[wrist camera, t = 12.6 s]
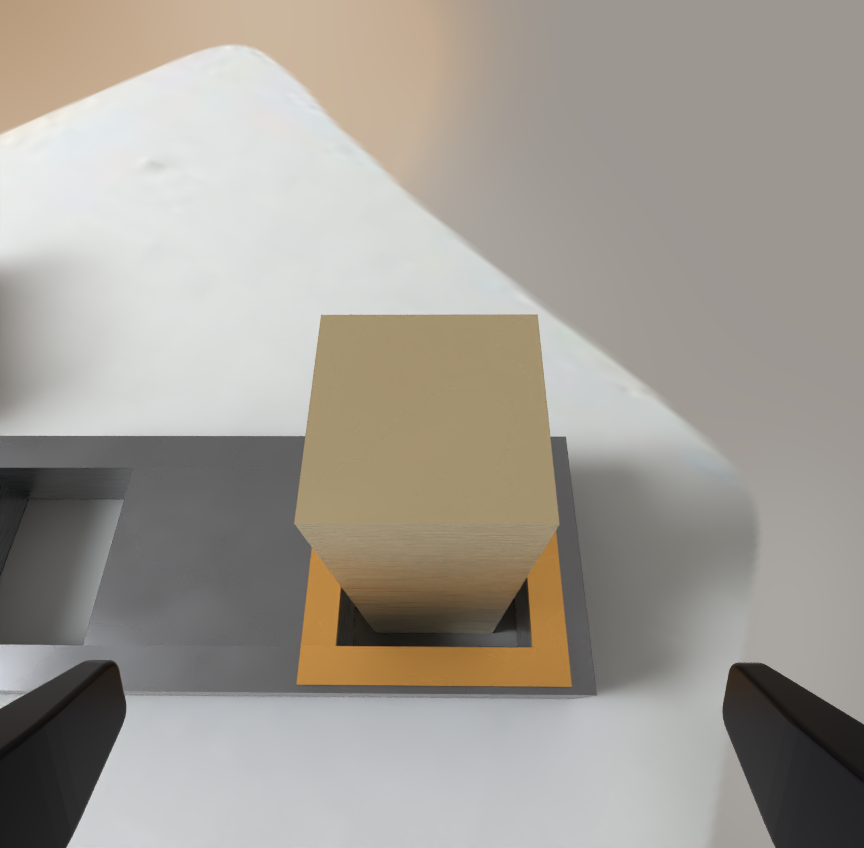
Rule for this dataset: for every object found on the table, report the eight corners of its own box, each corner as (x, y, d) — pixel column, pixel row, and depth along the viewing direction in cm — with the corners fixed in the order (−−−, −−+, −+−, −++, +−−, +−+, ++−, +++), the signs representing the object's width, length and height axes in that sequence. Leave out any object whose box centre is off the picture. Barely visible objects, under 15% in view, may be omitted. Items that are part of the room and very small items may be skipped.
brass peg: (487, 520, 21) (537, 314, 10) (492, 633, 19) (559, 524, 8) (381, 520, 21) (320, 314, 10) (375, 632, 19) (294, 523, 8)
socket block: (550, 471, 22) (566, 434, 19) (573, 698, 18) (598, 695, 15) (-4, 469, 22) (-69, 433, 19) (-96, 693, 18) (-195, 688, 15)
